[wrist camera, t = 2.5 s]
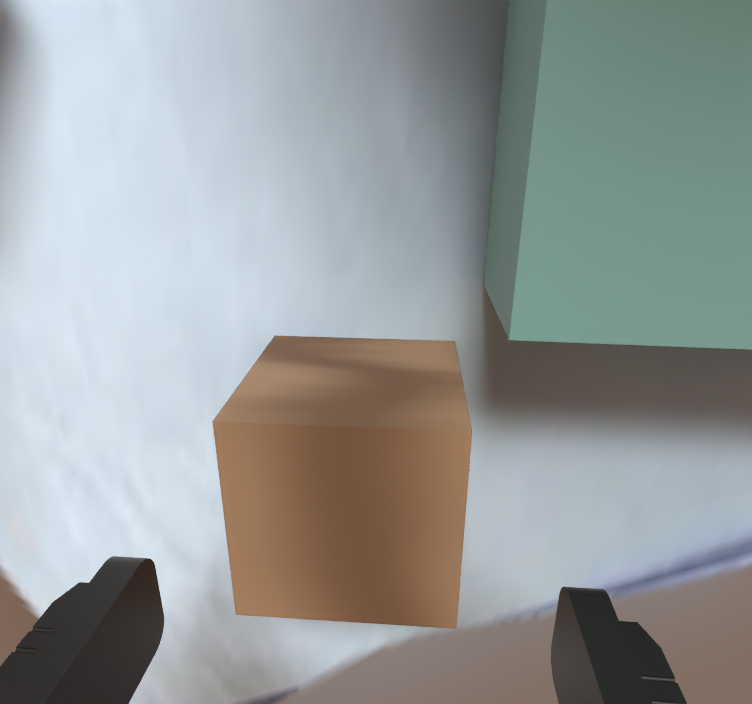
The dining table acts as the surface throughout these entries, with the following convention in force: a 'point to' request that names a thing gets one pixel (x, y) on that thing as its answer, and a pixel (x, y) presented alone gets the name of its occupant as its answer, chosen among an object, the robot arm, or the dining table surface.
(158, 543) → the dining table surface
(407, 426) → the walnut block
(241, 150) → the dining table surface
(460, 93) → the dining table surface
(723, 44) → the base block
